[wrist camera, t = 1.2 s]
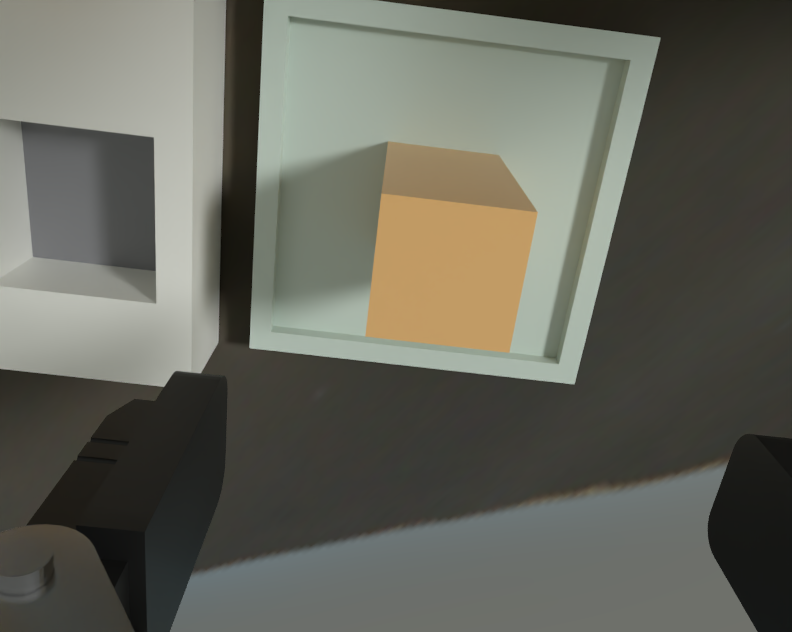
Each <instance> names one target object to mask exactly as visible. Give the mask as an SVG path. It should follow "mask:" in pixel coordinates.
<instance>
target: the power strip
mask: <svg viewBox="0 0 792 632" xmlns="http://www.w3.org/2000/svg"><path fill="white" fill-rule="evenodd" d="M225 27H226V0H0V369H7V370H16V371H25V372H34V373H43V374H52V375H62V376H71V377H80V378H89V379H98V380H107V381H116V382H126V383H135V384H144V385H153V386H162V387H165V385H166V384H167V382H168V380H169V379H170V377H171V376H172V374H173V373H174V372H175V371H183V372H193V373H201V372H202V370H203V368H204V367H205V365H206V363H207V361H208V360H209V358H210V356H211V354H212V353H213V351H214V349H215V347H216V346H217V344H218V340H219V295H220V250H221V206H222V161H223V116H224V72H225Z"/></svg>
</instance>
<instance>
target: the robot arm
mask: <svg viewBox="0 0 792 632" xmlns="http://www.w3.org/2000/svg"><path fill="white" fill-rule="evenodd" d="M226 420H227V380H226V377H225V376H220V375H211V374H202V373H193V372H183V371H175V372H174V373H173V374H172V376H171V377H170V379H169V380H168V382H167V384H166V385H165V387H164V388H163V390H162V391H161V393H160V394H159V396H158V398H157V399H156V401H148V400H139V399H134V400H132V401H131V402H129V403H127V404H126V405H124V406H122V407H121V408H119V409H118V410H116V411H114V412H113V413H111V414H109V415H108V416H107V417H106V418H105V419H104V421H103V422H102V423H101V425H100V426H99V427H98V429H97V430H96V431H95V433H94V434H93V436H92V437H91V441H90V442H87V444H86V445H85V446H84V448H83V449H82V450H81V452H80V453H79V455H78V458H77V461H75V460H74V461H73V463H72V464H71V465H70V467H69V468H68V470H67V471H66V472H65V474H64V475H63V476H62V478H61V479H60V480H59V482H58V483H57V484H56V486H55V487H54V489H53V490H52V491H51V493H50V494H49V495H48V497H47V498H46V499H45V501H44V502H43V503H42V505H41V506H40V508H39V509H38V510H37V512H36V513H35V514H34V516H33V517H32V518H31V520H30V521H29V522H28V524H27V525H26V526H22V527H18V528H14V529H10V530H7V531H4V532H1V533H0V632H170V629H171V627H172V624H173V621H174V619H175V616H176V613H177V611H178V608H179V605H180V602H181V600H182V597H183V595H184V592H185V589H186V587H187V584H188V581H189V579H190V576H191V573H192V571H193V568H194V565H195V563H196V560H197V557H198V555H199V552H200V549H201V547H202V544H203V542H204V539H205V536H206V534H207V531H208V528H209V526H210V523H211V520H212V518H213V515H214V512H215V510H216V507H217V504H218V501H219V498H220V494H221V489H222V484H223V478H224V471H225V453H226ZM708 539H709V544H710V548H711V551H712V553H713V555H714V557H715V559H716V561H717V563H718V564H719V566H720V568H721V569H722V571H723V573H724V575H725V576H726V578H727V580H728V581H729V583H730V585H731V587H732V588H733V590H734V592H735V594H736V595H737V597H738V599H739V600H740V602H741V604H742V606H743V607H744V609H745V611H746V613H747V614H748V616H749V618H750V619H751V621H752V623H753V624H754V626H755V628H756V630H757V631H758V632H792V439H790V438H781V437H771V436H762V435H753V434H746V435H744V436H742V437H741V438H740V439H739V440H738V441H737V443H736V444H735V447H734V449H733V452H732V454H731V457H730V460H729V463H728V465H727V468H726V471H725V474H724V476H723V479H722V482H721V485H720V488H719V490H718V493H717V496H716V498H715V501H714V504H713V507H712V509H711V512H710V515H709V521H708Z"/></svg>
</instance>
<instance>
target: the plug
mask: <svg viewBox="0 0 792 632" xmlns="http://www.w3.org/2000/svg"><path fill="white" fill-rule="evenodd" d="M537 214H538V212H537V210H536V209H535V207H534V206H533V204H532V203H531V201H530V200H529V199H528V197H527V196H526V194H525V193H524V191H523V190H522V188H521V187H520V185H519V184H518V182H517V181H516V179H515V178H514V176H513V175H512V174H511V172H510V171H509V169H508V168H507V166H506V165H505V163H504V162H503V160H502V159H501V157H500V156H499V155H494V154H486V153H478V152H470V151H462V150H454V149H446V148H438V147H430V146H421V145H413V144H405V143H397V142H389V141H388V146H387V154H386V162H385V169H384V177H383V185H382V192H381V201H380V210H379V219H378V228H377V237H376V246H375V254H374V263H373V272H372V281H371V290H370V299H369V308H368V317H367V325H366V334H365V337H373V338H382V339H391V340H400V341H409V342H418V343H426V344H435V345H444V346H453V347H462V348H471V349H479V350H488V351H497V352H506V353H509V352H510V347H511V342H512V337H513V332H514V327H515V322H516V317H517V312H518V308H519V303H520V298H521V293H522V288H523V283H524V278H525V273H526V268H527V263H528V258H529V254H530V249H531V244H532V239H533V234H534V229H535V224H536V219H537Z"/></svg>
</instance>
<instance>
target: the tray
mask: <svg viewBox="0 0 792 632" xmlns="http://www.w3.org/2000/svg"><path fill="white" fill-rule="evenodd" d="M660 39H661V38H660V37H652V36H645V35H637V34H629V33H622V32H614V31H606V30H599V29H591V28H583V27H576V26H568V25H560V24H553V23H545V22H538V21H530V20H522V19H515V18H507V17H499V16H492V15H484V14H476V13H469V12H461V11H453V10H446V9H438V8H430V7H423V6H415V5H407V4H400V3H392V2H384V1H377V0H264V12H263V36H262V60H261V84H260V108H259V132H258V156H257V180H256V204H255V228H254V252H253V276H252V300H251V324H250V348H254V349H263V350H272V351H281V352H290V353H299V354H308V355H316V356H325V357H334V358H343V359H352V360H361V361H370V362H379V363H388V364H397V365H406V366H415V367H424V368H433V369H442V370H451V371H460V372H469V373H478V374H487V375H495V376H504V377H513V378H522V379H531V380H540V381H549V382H558V383H567V384H575V380H576V376H577V372H578V368H579V364H580V360H581V356H582V352H583V348H584V344H585V340H586V336H587V332H588V328H589V324H590V320H591V316H592V312H593V308H594V304H595V300H596V296H597V292H598V288H599V284H600V280H601V276H602V272H603V268H604V264H605V260H606V256H607V252H608V248H609V244H610V240H611V236H612V232H613V228H614V223H615V219H616V215H617V211H618V207H619V203H620V199H621V195H622V191H623V187H624V183H625V179H626V175H627V171H628V167H629V163H630V159H631V155H632V151H633V147H634V143H635V139H636V135H637V131H638V127H639V123H640V119H641V115H642V111H643V107H644V103H645V99H646V95H647V91H648V87H649V83H650V79H651V75H652V71H653V67H654V63H655V59H656V55H657V51H658V47H659V43H660ZM388 141H389V142H397V143H405V144H413V145H421V146H430V147H438V148H446V149H454V150H462V151H470V152H478V153H486V154H494V155H499V156H500V157H501V159H502V160H503V162H504V163H505V165H506V166H507V168H508V169H509V171H510V172H511V174H512V175H513V176H514V178H515V179H516V181H517V182H518V184H519V185H520V187H521V188H522V190H523V191H524V193H525V194H526V196H527V197H528V199H529V200H530V201H531V203H532V204H533V206H534V207H535V209H536V210H537V212H538V214H537V219H536V224H535V229H534V234H533V239H532V244H531V249H530V254H529V258H528V263H527V268H526V273H525V278H524V283H523V288H522V293H521V298H520V303H519V308H518V312H517V317H516V322H515V327H514V332H513V337H512V342H511V347H510V352H509V353H506V352H497V351H488V350H479V349H471V348H462V347H453V346H444V345H435V344H426V343H418V342H409V341H400V340H391V339H382V338H373V337H365V334H366V325H367V317H368V308H369V299H370V290H371V281H372V272H373V263H374V254H375V246H376V237H377V228H378V219H379V210H380V201H381V192H382V185H383V177H384V169H385V162H386V154H387V146H388Z"/></svg>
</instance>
